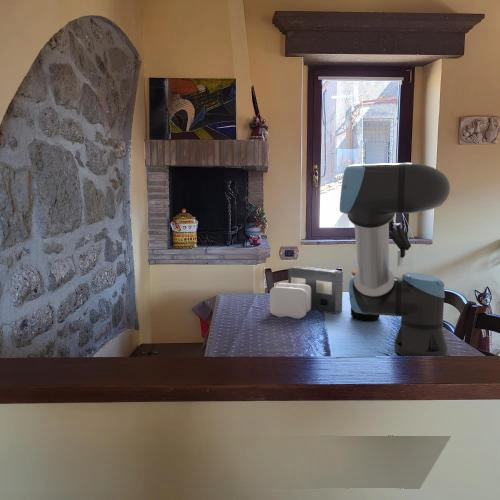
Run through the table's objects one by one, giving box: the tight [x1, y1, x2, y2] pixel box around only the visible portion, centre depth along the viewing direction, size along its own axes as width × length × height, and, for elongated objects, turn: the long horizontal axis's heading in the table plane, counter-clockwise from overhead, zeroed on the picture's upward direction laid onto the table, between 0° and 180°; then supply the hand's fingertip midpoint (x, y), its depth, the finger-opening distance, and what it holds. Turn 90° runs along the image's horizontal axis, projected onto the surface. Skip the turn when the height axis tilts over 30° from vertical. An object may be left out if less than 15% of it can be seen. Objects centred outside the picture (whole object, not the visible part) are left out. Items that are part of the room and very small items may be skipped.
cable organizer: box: [269, 282, 311, 319], centre depth 175 cm, size 15×11×12 cm
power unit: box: [287, 265, 344, 314], centre depth 184 cm, size 6×22×16 cm, turn 52°
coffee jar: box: [350, 269, 381, 323], centre depth 169 cm, size 11×11×18 cm
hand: (382, 259), depth 166 cm, fingers open, 13 cm apart
